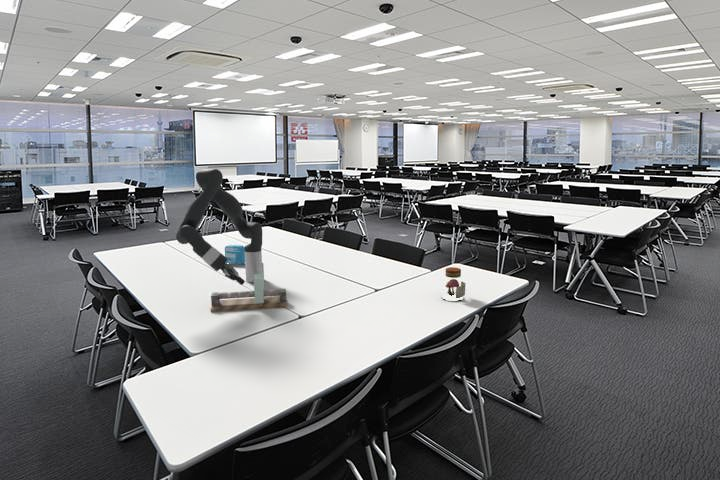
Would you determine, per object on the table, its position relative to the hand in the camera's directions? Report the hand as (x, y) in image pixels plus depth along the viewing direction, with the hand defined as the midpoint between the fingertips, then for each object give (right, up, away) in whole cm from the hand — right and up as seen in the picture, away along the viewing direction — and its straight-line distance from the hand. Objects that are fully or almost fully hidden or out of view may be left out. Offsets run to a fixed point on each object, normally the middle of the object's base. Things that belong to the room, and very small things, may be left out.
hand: (243, 283), depth 208 cm
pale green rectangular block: (+7, -9, +3) cm, 11 cm away
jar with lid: (+100, -9, +11) cm, 101 cm away
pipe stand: (+2, -11, +3) cm, 11 cm away
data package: (-27, +5, +82) cm, 87 cm away
